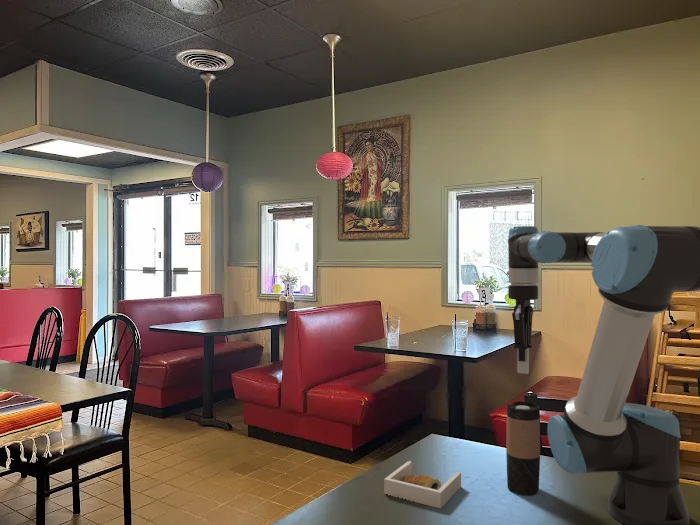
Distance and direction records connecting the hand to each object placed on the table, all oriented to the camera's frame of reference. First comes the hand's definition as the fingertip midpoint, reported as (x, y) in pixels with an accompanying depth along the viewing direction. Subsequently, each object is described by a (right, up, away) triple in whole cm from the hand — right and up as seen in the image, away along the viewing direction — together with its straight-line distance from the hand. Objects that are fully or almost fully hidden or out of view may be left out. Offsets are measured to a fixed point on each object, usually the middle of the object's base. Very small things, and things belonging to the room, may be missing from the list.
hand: (522, 372), depth 144 cm
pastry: (-29, -25, -16) cm, 42 cm away
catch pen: (-29, -25, -16) cm, 41 cm away
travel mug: (-5, -25, -15) cm, 30 cm away
